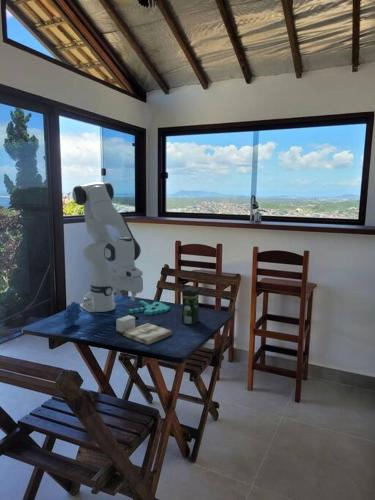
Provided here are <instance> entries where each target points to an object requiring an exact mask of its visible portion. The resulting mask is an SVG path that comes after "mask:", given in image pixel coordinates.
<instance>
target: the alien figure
mask: <svg viewBox="0 0 375 500" xmlns="http://www.w3.org/2000/svg"><path fill="white" fill-rule="evenodd" d="M140 304H141V307H139V308H136V307H135V308H129V309H128V314H131V315H132V314H134V313H137V314H138V313H139V312H141V313H142V312H143V315H146V316H153V315H158V314H163V313H168V312H169V310H170V309H171V308H170V307H171V306H170V305H167V304H165V303H163V302H162V301H153V303H151V304H150V303H148V302H146V301H144V300H140V301H139V305H140ZM167 311H168V312H167Z"/></svg>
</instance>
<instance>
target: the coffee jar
mask: <svg viewBox="0 0 375 500" xmlns="http://www.w3.org/2000/svg"><path fill="white" fill-rule="evenodd" d="M199 290H200V289H199V288H198V287H197V286H191V285H190V286H188V287H185V288H184V289H181V299H182V301H181V303H182V305H181V323H182V324H184V325H194V324H197V323H198V321H199V297H200V292H199Z"/></svg>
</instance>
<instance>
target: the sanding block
mask: <svg viewBox="0 0 375 500" xmlns="http://www.w3.org/2000/svg"><path fill="white" fill-rule="evenodd" d="M115 320H116V323H115V324H116V326H115V328H116V332H118V331H119V332H118V333H121V334H123V332H124V331H127V330H129V329H132V328H135V327H136V317H135V316H133V315H130V314H128V315H126V316H122V317H119V318H117V319H115Z"/></svg>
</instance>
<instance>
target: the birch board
mask: <svg viewBox="0 0 375 500" xmlns="http://www.w3.org/2000/svg"><path fill="white" fill-rule="evenodd" d="M172 334H173V331H172V330H171V329H167V328H165V327H161V326H158V325H155V324H152V323H147V322H146V323H145V324H141V325H139V326H135V328H132V329H129V330H127V331H124V332H123V333H122V336H124V337H125V336H126V338H128V339H131V340H133V341H136V342H139V343H142V344H144V345H152V343H153V344H154V343H155V342H158V341H160V340H163V339H165V338H168V337H170V336H172Z"/></svg>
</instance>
